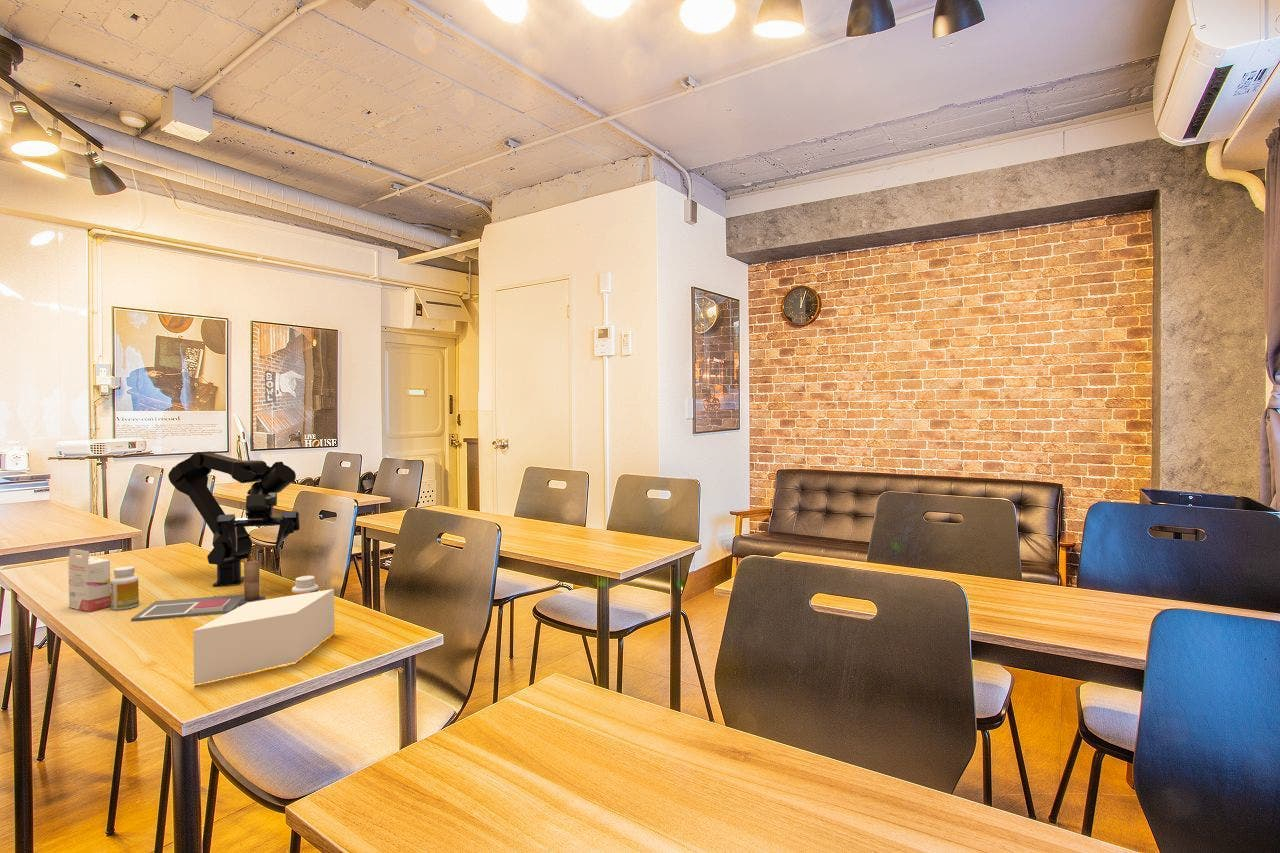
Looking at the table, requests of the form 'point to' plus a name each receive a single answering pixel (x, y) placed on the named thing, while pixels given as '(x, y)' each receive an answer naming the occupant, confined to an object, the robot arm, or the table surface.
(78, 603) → the ink cartridge box
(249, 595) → the stamp
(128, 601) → the supplement bottle
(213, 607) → the stamp board
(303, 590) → the supplement bottle
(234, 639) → the cream slanted prism
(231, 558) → the robot arm
